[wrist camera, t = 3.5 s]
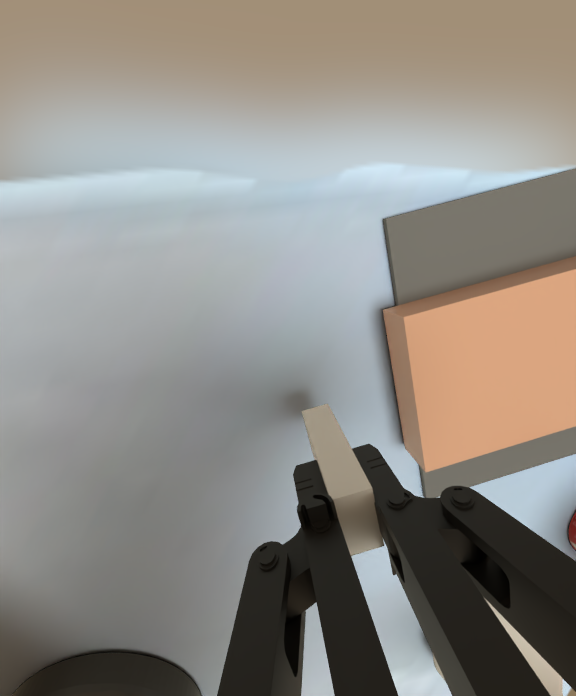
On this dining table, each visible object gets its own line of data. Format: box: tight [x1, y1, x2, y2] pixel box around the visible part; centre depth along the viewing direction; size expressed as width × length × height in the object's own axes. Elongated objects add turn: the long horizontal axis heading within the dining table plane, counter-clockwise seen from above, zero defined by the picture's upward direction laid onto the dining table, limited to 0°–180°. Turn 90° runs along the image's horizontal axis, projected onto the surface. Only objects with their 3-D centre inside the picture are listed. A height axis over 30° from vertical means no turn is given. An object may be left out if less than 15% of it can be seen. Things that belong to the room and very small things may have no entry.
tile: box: [383, 256, 576, 472], centre depth 19 cm, size 14×10×3 cm
